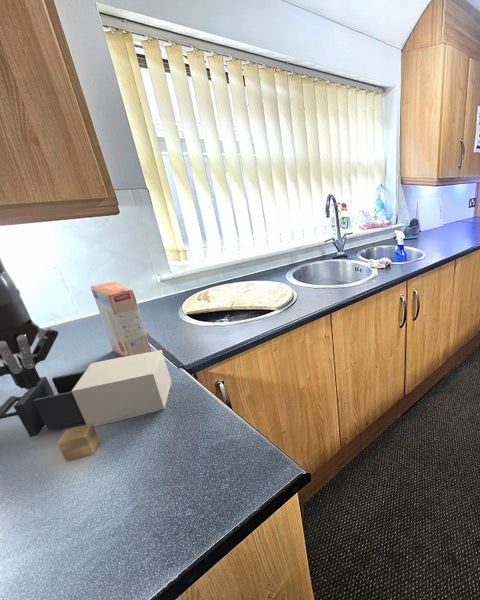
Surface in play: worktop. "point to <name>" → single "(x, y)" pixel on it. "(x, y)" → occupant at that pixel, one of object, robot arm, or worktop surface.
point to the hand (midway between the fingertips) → (30, 386)
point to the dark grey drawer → (46, 405)
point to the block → (78, 442)
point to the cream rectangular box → (123, 388)
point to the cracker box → (121, 319)
